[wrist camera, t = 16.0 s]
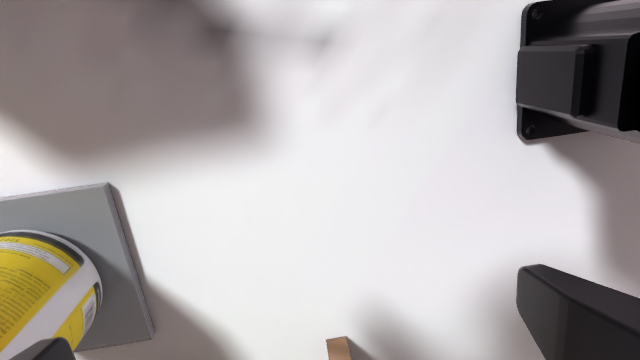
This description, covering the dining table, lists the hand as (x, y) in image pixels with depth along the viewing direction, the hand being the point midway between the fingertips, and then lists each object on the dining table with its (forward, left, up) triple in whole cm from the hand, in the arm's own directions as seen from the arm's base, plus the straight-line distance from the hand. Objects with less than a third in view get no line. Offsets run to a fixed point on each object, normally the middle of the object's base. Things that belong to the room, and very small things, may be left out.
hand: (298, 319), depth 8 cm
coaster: (+13, +5, -13) cm, 19 cm away
